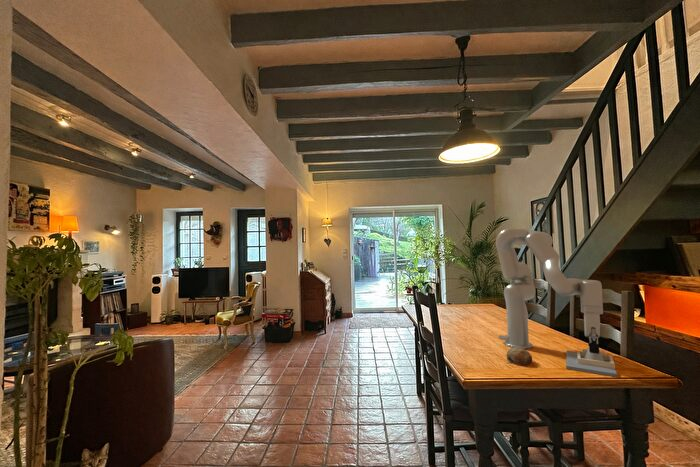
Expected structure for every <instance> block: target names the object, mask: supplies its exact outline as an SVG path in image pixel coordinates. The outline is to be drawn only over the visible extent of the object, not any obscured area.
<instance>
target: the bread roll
mask: <svg viewBox="0 0 700 467" xmlns="http://www.w3.org/2000/svg"><path fill="white" fill-rule="evenodd" d="M532 357H533V356H532V355H531V353H530V352H529V351H528V350H527V349H523V348H520V347H514V348H512V347H510V348H509V349H508V350H507V352H506V360H507V361H508V363H509V364H513V365H517V366H531V365H532V364H533V358H532Z"/></svg>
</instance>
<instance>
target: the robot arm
mask: <svg viewBox="0 0 700 467" xmlns="http://www.w3.org/2000/svg"><path fill="white" fill-rule="evenodd" d="M495 238H496V239H495V246H496V250H497V251H496V252H497V255H498V259H499V263H500V268H501V274H502V275H503V278H504V279H505V280H507V281H509V282H510V281H514V282H513V283H509V284H508V285H506V286H505V287H504V290H503V296H504V301H505V307H506V324H507V327H506V328H507V330H506V331H507V334H506V335H502V334H499V335H498V339H499V340H502V341H503V340H504V345H505V346H507V347H509V348H514V347H520V348H523V349H525V350H528V349H532V348H533V347H534V346H533V343H531V342H530V341H529V340H530V337H529V335H530V334H529V319H528V318H529V317H528V316H529V314H528V308H527V305H526V302H527V301H530V300H532V299H534V297H535V296H536V287H535V282H534V278H533V273H532V270H531V268H530V267H529V265H527V263H525V262H522V261H519V260H518V259H519V258H518V254H517V252H516V250H515V248H514V247H513V246H515V245H516V246H527V247H528V248H529V250H530V251H531V252H532V254H533V256H535V258H536V260H538V262H539V264H540V265H541V270H542V271H543V275H544V278H545V279H546V282H548V284H549V285H550V286H551V288H552V289H553V290H554V291H555V292H556V293H557V294H558V295H560V296H561V297H570V296H576V295H578V296H579V295H580V298H579V299H580V313H582V314H583V325H584V326H583V327H584V336H585V338H587V344H588V347H589V352H590V353H596V354H599V350H600V344H599V338H600V336H601V334H600V333H601V317H600V315H603V314H604V308H603V307H604V305H603V304H604V303H603V285H602V283H601V282H602V281H600V280H597V279H596V280H594V279H581V278H576V277H575V278H574V277H571V278H570V277H569V278H567V277H566V275H565V274H564V273H563V272H562V270H561V268H560V266H559V262H560V257H561V256H560V254H559V253H558V251H557V250H555V248H554V247H553V246H552V245H553V242H554V241H553V237H552V236H551V234H549V233H547V232H545V231H540V230H539V231H537V230H533V229H526V228H515V227H514V228H505V229H503V230H501V231H500V232H499V233H498V235H497V236H496V237H495ZM525 301H526V302H525ZM589 338H590V339H589Z"/></svg>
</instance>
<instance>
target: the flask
mask: <svg viewBox="0 0 700 467" xmlns="http://www.w3.org/2000/svg"><path fill="white" fill-rule="evenodd" d="M589 339H590V338H589ZM587 349H588V350H587V353H586V355H585V358H584V359H590V360H597V361H604V359H603V357H602V355H601V352H600V351H601V350H600V349H599V354H596V353H590V352H589V346H588V348H587ZM604 362H605V361H604Z"/></svg>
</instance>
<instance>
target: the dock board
mask: <svg viewBox="0 0 700 467" xmlns="http://www.w3.org/2000/svg"><path fill="white" fill-rule="evenodd" d="M587 350H588V348H582V350H577V351H575V350H566V359H565V360H566V363H565V364H566V365H565V368H566V369H565V370H573V371H578V372H584V373H589V374H595V375H602V376H609V377H615V378H617V377H618V373H617V370H616V364H615V361H614V358H613V356H612V354H611V355H610V354H607V353H606V351H604V350H600V352H601V355H602V357H603V359H604V361H605V362H604V361H597V360H590V359H584V358H585V355H586V353H587Z"/></svg>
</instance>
